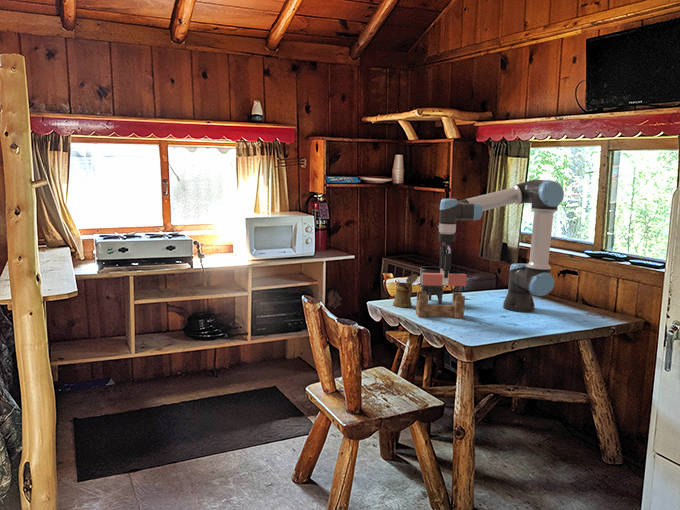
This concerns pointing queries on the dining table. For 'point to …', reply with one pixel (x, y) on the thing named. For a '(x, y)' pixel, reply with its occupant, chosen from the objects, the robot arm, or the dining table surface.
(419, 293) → the wooden cradle
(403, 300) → the brown jug
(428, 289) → the planter
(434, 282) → the rail
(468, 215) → the robot arm
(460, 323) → the dining table surface
